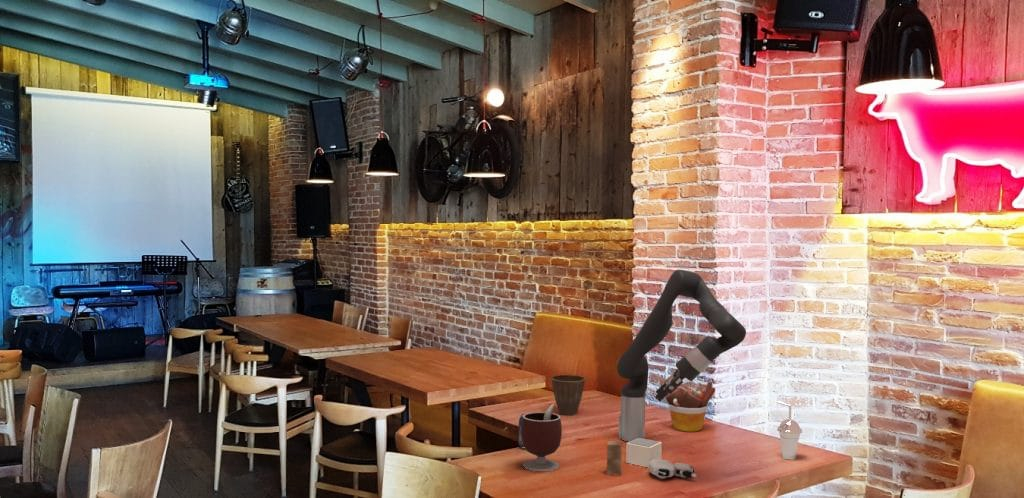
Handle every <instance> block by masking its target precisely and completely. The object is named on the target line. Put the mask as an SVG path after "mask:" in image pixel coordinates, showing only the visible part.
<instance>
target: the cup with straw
mask: <svg viewBox="0 0 1024 498" xmlns="http://www.w3.org/2000/svg"><path fill="white" fill-rule="evenodd" d="M775 403H777V404H780V405H784V406H787V407H788V411H789V412H788V413H789V414H788V415H789V416H788V418H786V419H784V420H782V421H781V422H780V424H779V426H777V428H776V430H777V432H779V437H780V447H781V454H782V458H783V459H784V460H796V458H797V452H798V445H799V440H800V435H801V434H802V433H803V430H802V428H800V425H799V423H798V422H797V421H795V420H794V419H792V405H791V404H789V403H785V402H784V401H783V402H782V401H779V400H775Z"/></svg>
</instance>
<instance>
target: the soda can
mask: <svg viewBox="0 0 1024 498" xmlns="http://www.w3.org/2000/svg"><path fill="white" fill-rule="evenodd" d="M524 414H525V413H521V414H520V417H519V419H518V446H519V448H520V449H522V447H524V446H523V443H522V438H521V425H522V420H523V415H524Z"/></svg>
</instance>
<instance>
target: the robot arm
mask: <svg viewBox="0 0 1024 498" xmlns="http://www.w3.org/2000/svg"><path fill="white" fill-rule="evenodd" d="M664 286H665V287H664V288H663V290H662V293H661V295H660V296H659V298H658V301H657V302H656V304H655V305H654V307H653V308H652V310H651V312H650V314H649V315H647V318H646V319H645V321H644V322H643V325H642V326H641V327H640V330H639V331H638V332H637V334H636V336H635V337H634V339H633V341H632V342H631V343H630V345H629V346H628V348H626V350H625V351H624V352H623V353H622V354H621V356H620V357H619V359H618V361H617V363H616V365H617V366H616V370H617V374H618V376H619V377H620V378H623V379H626V380H628V381H627V383H626V384H625V385H624V386H622V387H621V391H620V392H621V393H620V394H621V395H620V414H619V415H618V436H617V437H618V438H619V439H618V440H621V439H622V440H621V441H623V440H624V441H623V442H627V441H628V442H631V441H633V440H635V439H637V438H643V439H645V436H646V434H645V430H646V428H645V424H646V421H645V419H646V391H647V390H648V386H649V385H648V383H649V382H648V381H649V362H648V359H647V358H646V355H647V354H648V353H649V352H650V351H651V350H653V349H654V348H656V347H657V346H658V345H659V344H661V342H662V341H663V340H664V339H665V338H666V336H667V335H668V333H669V332H670V330H671V328H672V326H673V310H672V309H673V305H674V303H675V300H676V299H677V298H678V297H680V296H681V297H686V298H692V299H694V300H695V301H696V302H698V303H699V306H698V308H699V312H700V313H701V314H702V316H703V317H704V318H705V320H706V321H708V322H709V324H710V325H712V327H713V328H714V330H715V331H716V332H717V333H718V334H719V335H720V336H719V337H717V338H714V337H713V336H710V335H708V336H706V337H704V339H702V340H701V341H700V342H699V343H698V344H697V345H696V346H695V347H693V348H691V349H690V350H689V351H688V352H687V353H685V355H684V356H683V357H682V358H680V359H679V360H678V361H677V362H676V363H675V367H676V370H675V371H674V372H672V373H671V375H670V376H668V377H667V378H666V379H665V380H664V382H663V384H662V385H661V386H660V387H658V388H657V389H656V390H655V393H656V394H655V396H654V397H655V399H656V400H657V401H658V402H661V401H663V400H664V399H665V397H666V396H667V395H668V394H671V393H672V392H673V391H674V390H676V388H677V387H681V385H683V383H684V381H683V380H684V379H686V380H688V381H689V382H693V381H694V380H695V379H696V378H697V377H699V375H700V374H702V372H704V371H705V370H706V369H707V368H708V367H709V366H710V365H711V364H712V362H713V361H714V360H715V359H717V358H718V357H719V356H720V355H721V354H723V353H725V352H727V351H729V350H731V349H733V348H735V347H737V346H738V345H740V344H741V343H743V341H744V340H745V338H746V335H747V330H746V328H745V327H744V325H742V323H741V322H740V321H738V319H737V318H736V317H735V316H734V315H732V314H731V313H730V312H729V311H728V310H727V309H726V308H725V306H724V305H723V304H721V303H720V301H719V300H718V299H716V297H715V296H714V294H713V293H712V292H711V290H710V289H709V287H708V286H707V284H706V282H705V280H704V278H703V277H701V275H699V273H696V272H694V271H689V270H685V269H676V270H675V271H673V272H672V273H671V274H670V277H669V278H668V280H667V282H666V284H665V285H664ZM670 388H671V390H670ZM628 442H627V443H628Z"/></svg>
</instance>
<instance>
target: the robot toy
mask: <svg viewBox="0 0 1024 498" xmlns="http://www.w3.org/2000/svg"><path fill="white" fill-rule="evenodd" d="M648 459H649V460H651V461H650V462H649V468H648V471H649V472H650V473H651V474H652V475H654V476H656V477H657V478H659V479H661V480H664V479H666V478H672V477H673V476H674V475H675V477H680V478H681V479H686V478H690V479H692V478H697V476H698V474H696V473H695V469H694V468H693V467H692V465H689V464H687V463H684V462H675V463H674V464H673V463H672V462H671V461H669V460H667V459H661V460H660V459H650V458H648Z"/></svg>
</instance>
